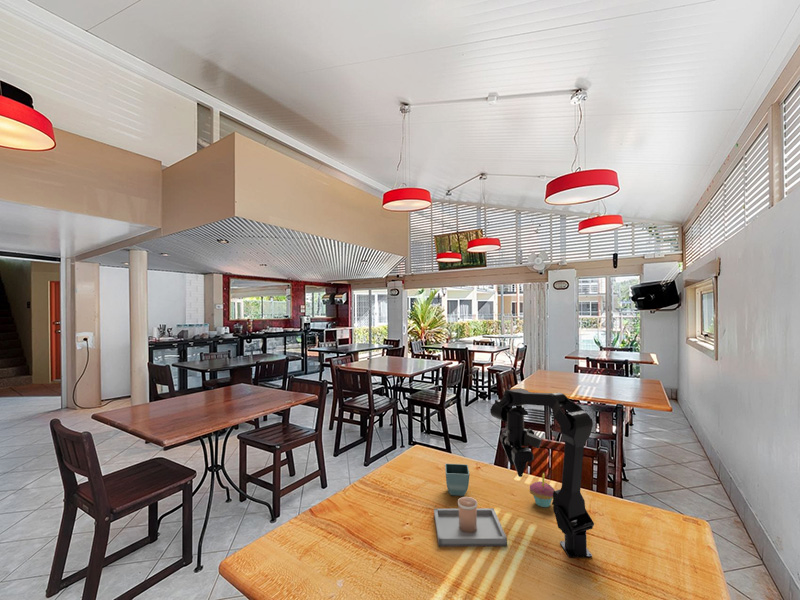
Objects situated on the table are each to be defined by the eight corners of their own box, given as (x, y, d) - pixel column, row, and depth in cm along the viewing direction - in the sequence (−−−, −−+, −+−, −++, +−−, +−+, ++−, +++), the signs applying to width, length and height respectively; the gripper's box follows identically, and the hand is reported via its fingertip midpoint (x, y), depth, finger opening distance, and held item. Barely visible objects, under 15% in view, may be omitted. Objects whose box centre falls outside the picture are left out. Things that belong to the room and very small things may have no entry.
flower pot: (468, 487, 142) (467, 464, 142) (470, 499, 133) (469, 474, 133) (445, 486, 142) (444, 463, 143) (445, 498, 134) (445, 473, 134)
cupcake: (559, 510, 125) (558, 475, 125) (534, 510, 125) (533, 475, 125) (549, 497, 134) (549, 464, 134) (526, 497, 134) (525, 464, 134)
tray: (507, 546, 107) (507, 538, 107) (438, 546, 107) (438, 538, 107) (493, 515, 123) (493, 508, 123) (434, 515, 123) (434, 508, 123)
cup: (479, 533, 112) (478, 507, 112) (459, 533, 112) (459, 507, 112) (475, 521, 118) (475, 496, 118) (457, 521, 118) (456, 497, 118)
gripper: (549, 434, 118) (550, 483, 117) (529, 417, 136) (530, 459, 136) (514, 434, 118) (515, 483, 117) (499, 417, 136) (500, 459, 136)
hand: (516, 470), depth 127 cm, fingers open, 9 cm apart
